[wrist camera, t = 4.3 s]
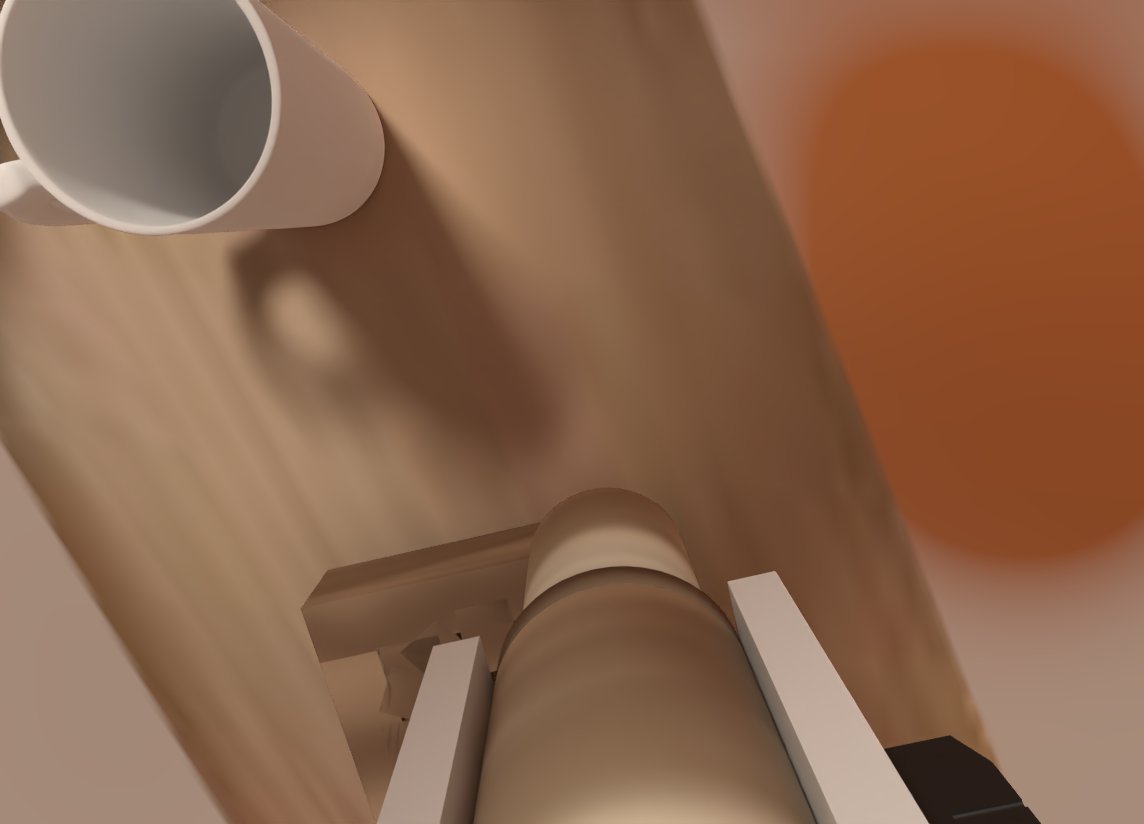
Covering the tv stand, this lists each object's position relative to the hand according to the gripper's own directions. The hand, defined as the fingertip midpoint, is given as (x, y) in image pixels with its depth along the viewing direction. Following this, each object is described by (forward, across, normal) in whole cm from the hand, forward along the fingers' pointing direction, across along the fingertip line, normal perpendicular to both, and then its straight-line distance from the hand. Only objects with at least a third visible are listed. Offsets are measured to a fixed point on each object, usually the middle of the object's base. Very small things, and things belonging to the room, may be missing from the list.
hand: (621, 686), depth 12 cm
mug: (+21, -10, +12) cm, 26 cm away
